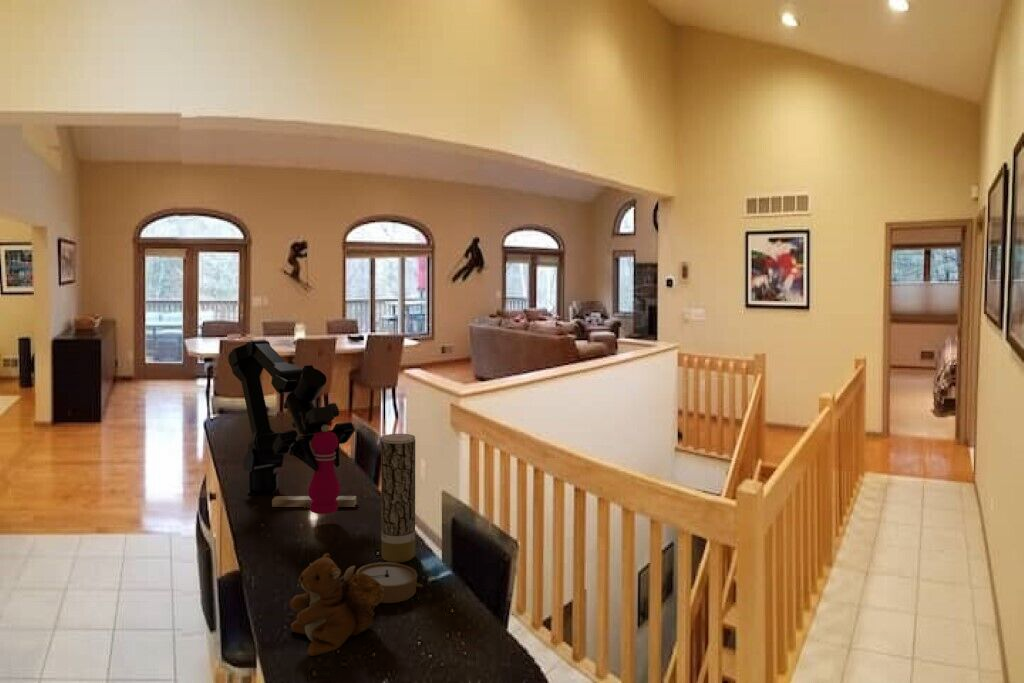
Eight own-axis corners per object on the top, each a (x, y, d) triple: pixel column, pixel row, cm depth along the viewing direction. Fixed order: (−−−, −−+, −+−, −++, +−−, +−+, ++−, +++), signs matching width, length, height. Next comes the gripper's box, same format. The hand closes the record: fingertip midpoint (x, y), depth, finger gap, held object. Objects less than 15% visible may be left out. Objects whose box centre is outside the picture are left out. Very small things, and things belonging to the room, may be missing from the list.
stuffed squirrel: (286, 631, 115) (285, 552, 114) (371, 613, 122) (371, 538, 120) (297, 661, 106) (296, 575, 105) (389, 640, 113) (388, 560, 112)
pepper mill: (301, 511, 163) (301, 425, 161) (321, 502, 170) (322, 419, 168) (326, 516, 160) (328, 429, 158) (346, 507, 167) (347, 423, 165)
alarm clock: (428, 581, 128) (347, 583, 121) (423, 608, 128) (342, 612, 121) (406, 559, 138) (330, 560, 131) (401, 584, 138) (325, 586, 131)
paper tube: (387, 566, 141) (387, 442, 139) (377, 554, 147) (376, 435, 145) (419, 560, 144) (420, 439, 142) (408, 549, 150) (408, 432, 148)
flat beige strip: (272, 507, 175) (272, 500, 175) (275, 504, 178) (275, 496, 178) (354, 507, 176) (354, 499, 176) (356, 503, 179) (356, 496, 179)
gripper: (277, 396, 159) (301, 455, 152) (351, 388, 172) (376, 442, 165) (262, 425, 165) (284, 483, 158) (334, 415, 178) (358, 468, 171)
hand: (327, 468), depth 163 cm, fingers closed on pepper mill, 5 cm apart
